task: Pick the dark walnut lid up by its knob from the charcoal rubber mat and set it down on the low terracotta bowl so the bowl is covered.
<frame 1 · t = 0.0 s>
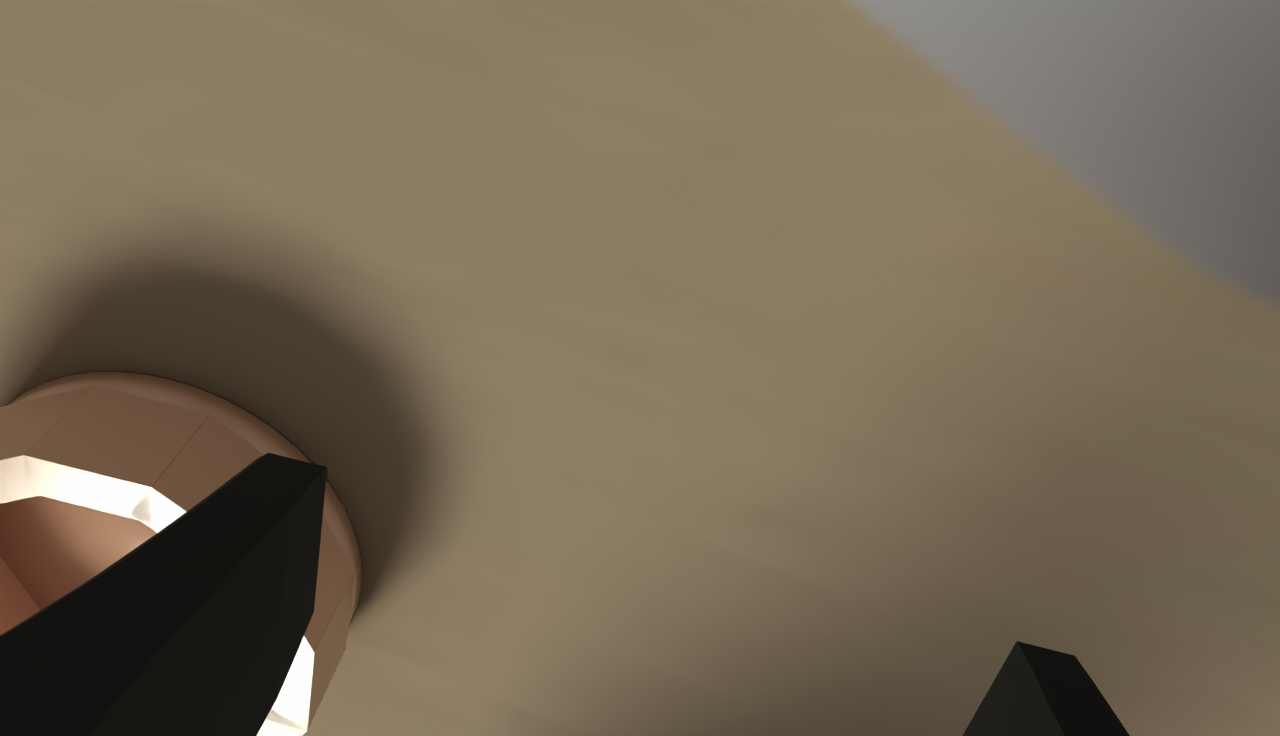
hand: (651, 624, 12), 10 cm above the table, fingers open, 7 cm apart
bowl: (170, 539, 26), on the table
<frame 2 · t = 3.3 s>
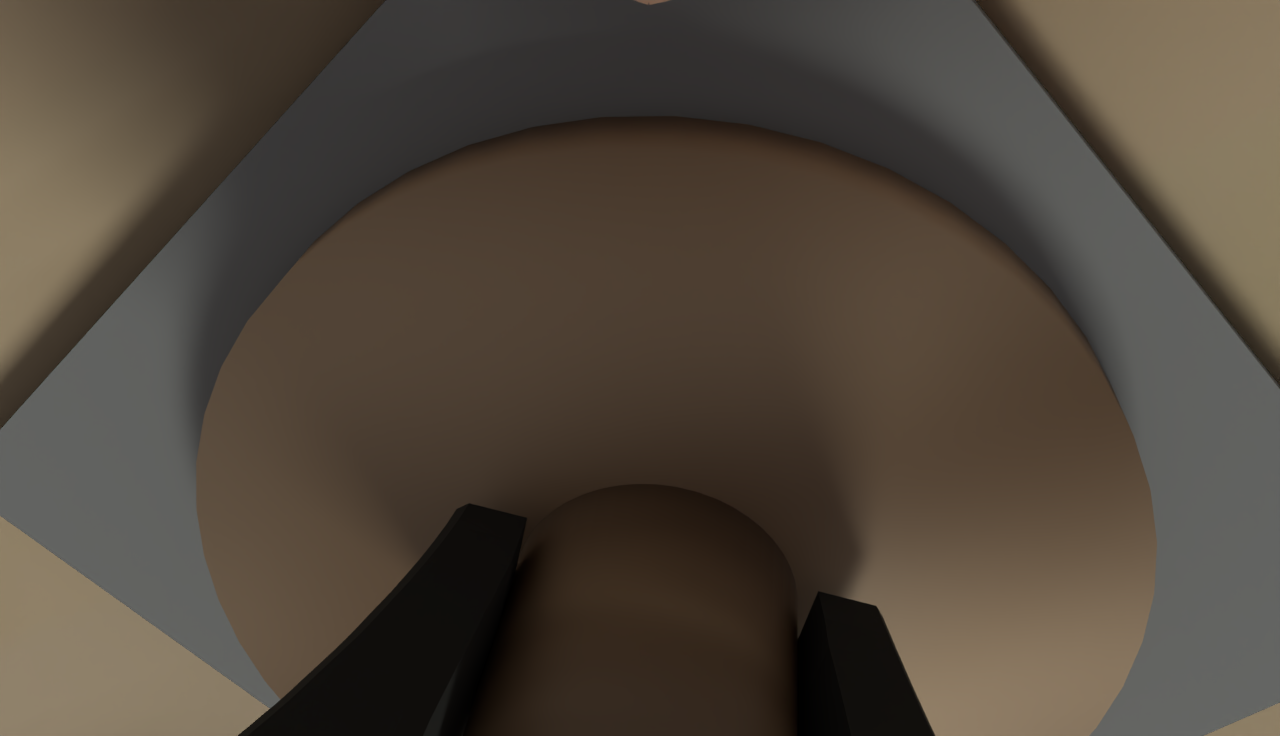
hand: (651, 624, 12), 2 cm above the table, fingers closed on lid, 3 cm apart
mat: (666, 525, 13), on the table
lid: (662, 547, 13), resting on mat, touching gripper
when the fingers open (6 cm above the table, at t = 5.8 s): lid stays where it is, resting on bowl.
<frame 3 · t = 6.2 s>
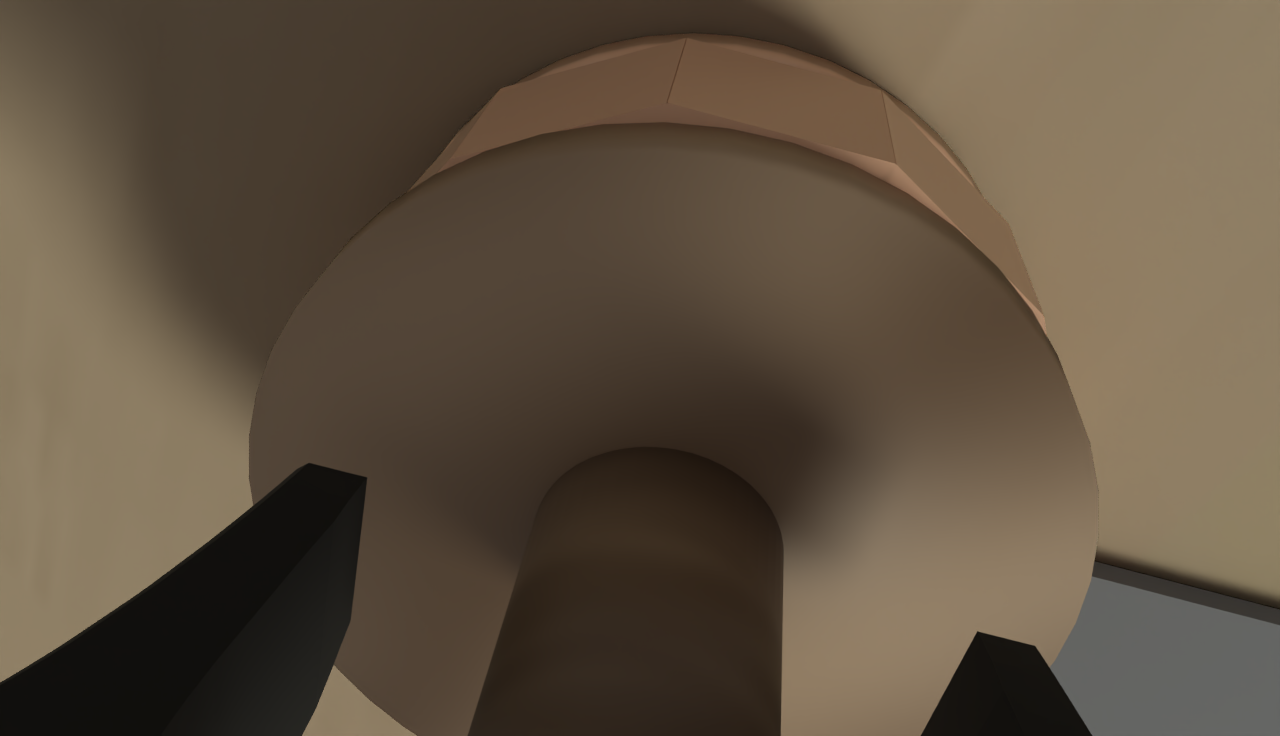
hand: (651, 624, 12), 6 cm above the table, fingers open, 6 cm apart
bowl: (694, 342, 17), on the table
lid: (663, 507, 14), point 3 cm above the table, touching bowl
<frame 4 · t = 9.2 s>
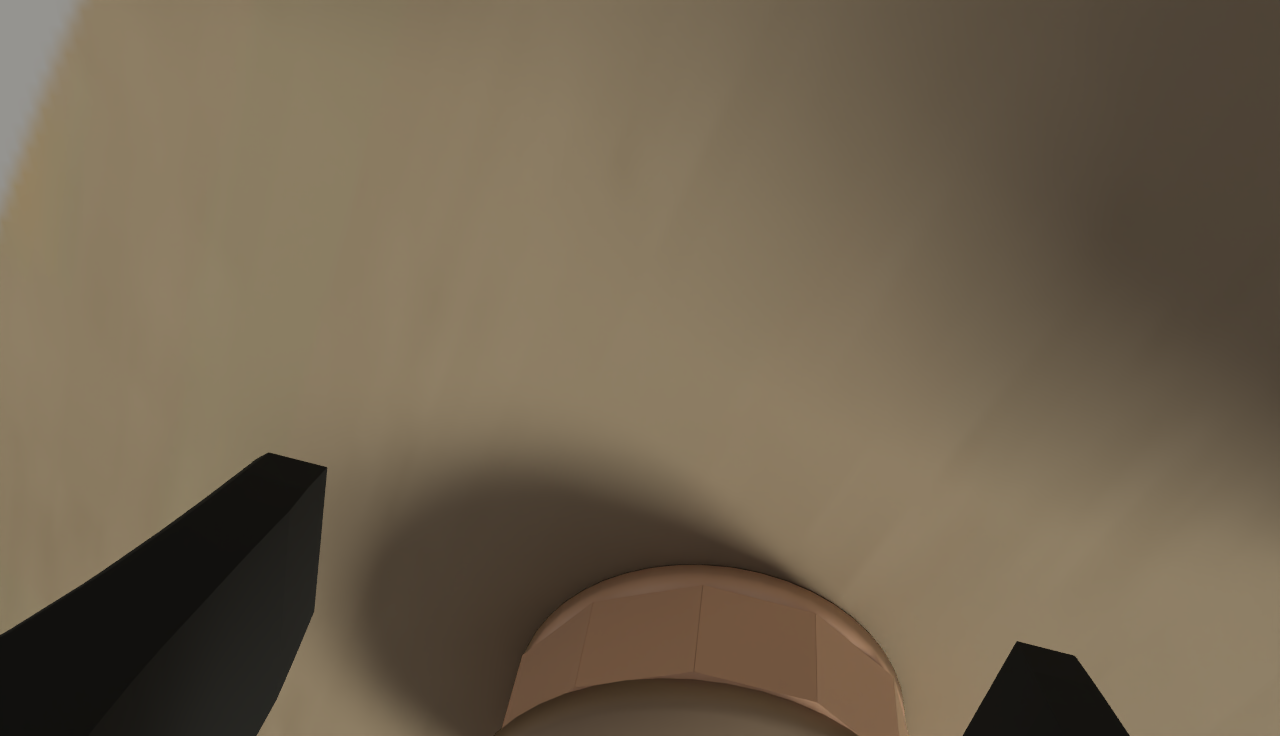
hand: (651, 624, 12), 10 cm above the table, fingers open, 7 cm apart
bowl: (707, 711, 26), on the table
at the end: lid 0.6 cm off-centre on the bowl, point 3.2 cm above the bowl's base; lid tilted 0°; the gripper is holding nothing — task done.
